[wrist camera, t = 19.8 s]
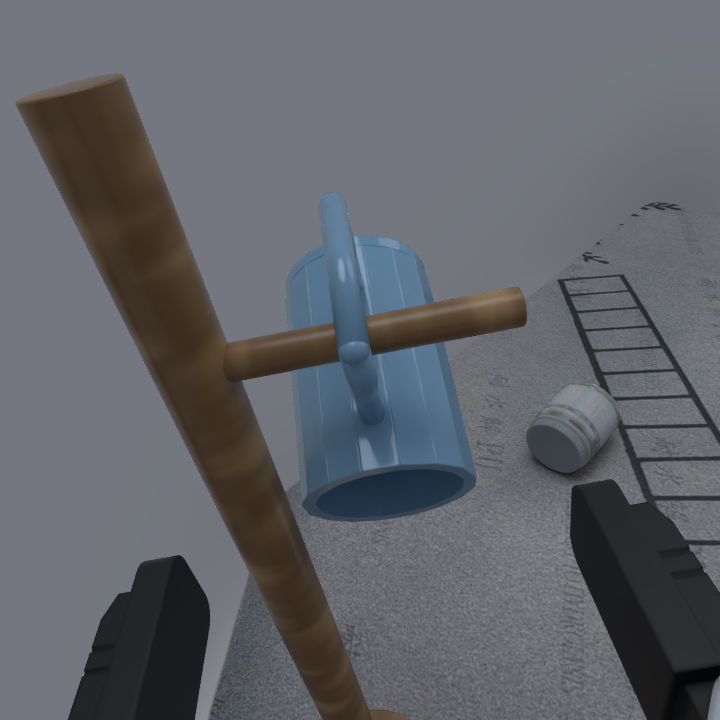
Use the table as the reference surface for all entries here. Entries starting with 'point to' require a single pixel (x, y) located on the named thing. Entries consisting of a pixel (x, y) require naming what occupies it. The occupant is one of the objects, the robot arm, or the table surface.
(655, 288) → the table surface
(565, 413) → the camera lens
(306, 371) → the mug
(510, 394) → the table surface
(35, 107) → the stand
